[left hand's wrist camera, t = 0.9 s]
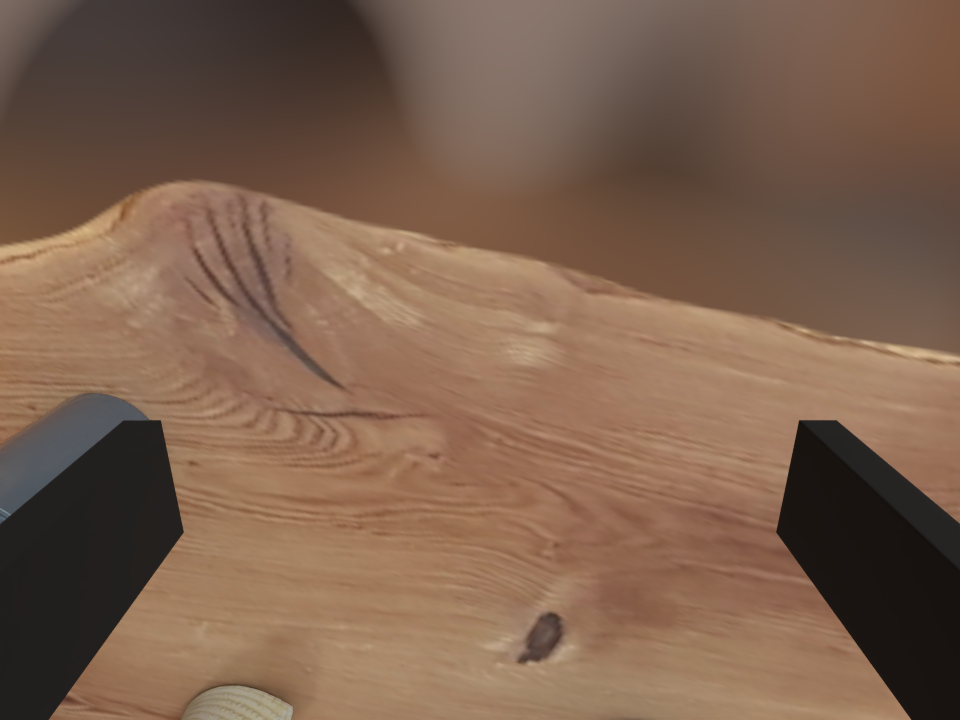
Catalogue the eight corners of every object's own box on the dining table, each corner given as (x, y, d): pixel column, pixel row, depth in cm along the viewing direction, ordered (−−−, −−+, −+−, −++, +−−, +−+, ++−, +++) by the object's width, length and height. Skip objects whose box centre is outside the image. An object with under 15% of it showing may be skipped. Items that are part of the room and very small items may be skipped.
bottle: (183, 435, 44) (16, 611, 28) (131, 511, 46) (-50, 714, 31) (76, 370, 42) (-165, 520, 26) (28, 453, 45) (-221, 636, 29)
